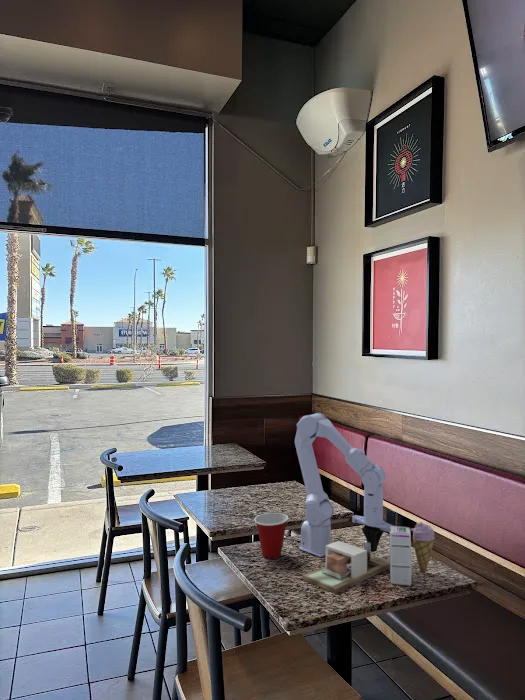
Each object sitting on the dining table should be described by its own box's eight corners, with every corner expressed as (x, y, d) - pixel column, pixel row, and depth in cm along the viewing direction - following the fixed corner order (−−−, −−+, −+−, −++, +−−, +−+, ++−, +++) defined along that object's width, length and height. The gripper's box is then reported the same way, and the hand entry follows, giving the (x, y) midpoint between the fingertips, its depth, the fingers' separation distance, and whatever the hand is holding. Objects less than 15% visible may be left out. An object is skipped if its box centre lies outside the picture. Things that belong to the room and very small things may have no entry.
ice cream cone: (406, 571, 157) (406, 520, 157) (416, 565, 162) (416, 516, 162) (427, 578, 153) (428, 525, 153) (437, 572, 157) (437, 520, 157)
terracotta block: (327, 570, 153) (327, 556, 153) (335, 566, 155) (336, 552, 155) (338, 574, 150) (338, 560, 150) (346, 570, 152) (347, 556, 152)
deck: (302, 579, 151) (302, 574, 151) (360, 555, 170) (360, 551, 170) (335, 593, 143) (335, 588, 143) (392, 566, 161) (392, 562, 161)
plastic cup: (248, 551, 172) (248, 514, 172) (279, 546, 177) (279, 510, 177) (261, 563, 162) (262, 524, 162) (293, 558, 167) (294, 520, 167)
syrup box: (411, 585, 148) (412, 533, 148) (389, 583, 149) (390, 531, 149) (410, 577, 154) (410, 526, 154) (389, 575, 155) (389, 525, 155)
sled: (321, 571, 153) (321, 552, 153) (360, 555, 166) (360, 537, 166) (340, 579, 148) (340, 559, 148) (378, 561, 161) (378, 543, 161)
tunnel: (325, 567, 157) (325, 545, 157) (338, 562, 161) (338, 540, 161) (354, 578, 149) (354, 555, 149) (366, 572, 154) (367, 550, 154)
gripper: (401, 509, 162) (400, 554, 162) (361, 499, 173) (361, 541, 173) (388, 514, 157) (387, 560, 157) (348, 503, 168) (347, 546, 168)
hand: (373, 550), depth 164 cm, fingers closed, pressing on sled
